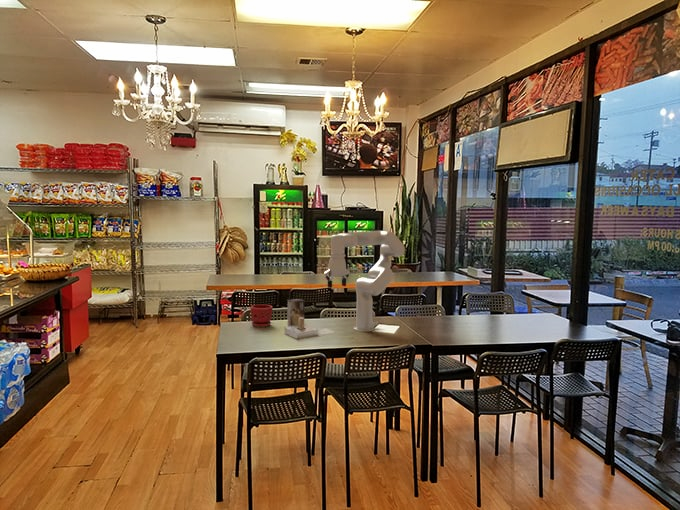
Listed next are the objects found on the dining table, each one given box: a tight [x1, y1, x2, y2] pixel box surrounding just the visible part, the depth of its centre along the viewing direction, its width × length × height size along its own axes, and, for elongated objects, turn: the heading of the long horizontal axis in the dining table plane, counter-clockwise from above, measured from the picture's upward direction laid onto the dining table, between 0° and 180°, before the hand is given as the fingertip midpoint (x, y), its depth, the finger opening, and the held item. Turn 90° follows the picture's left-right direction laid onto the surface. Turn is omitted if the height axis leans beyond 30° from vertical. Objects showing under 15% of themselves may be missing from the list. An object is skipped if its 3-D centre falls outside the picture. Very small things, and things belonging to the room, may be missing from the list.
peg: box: [299, 317, 305, 330], centre depth 268 cm, size 3×3×10 cm
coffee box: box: [287, 298, 305, 327], centre depth 286 cm, size 9×6×16 cm
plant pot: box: [250, 304, 273, 328], centre depth 286 cm, size 13×13×12 cm
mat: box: [318, 327, 336, 336], centre depth 274 cm, size 10×10×1 cm
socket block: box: [283, 323, 319, 340], centre depth 268 cm, size 14×14×4 cm
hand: (336, 286), depth 265 cm, fingers open, 9 cm apart
